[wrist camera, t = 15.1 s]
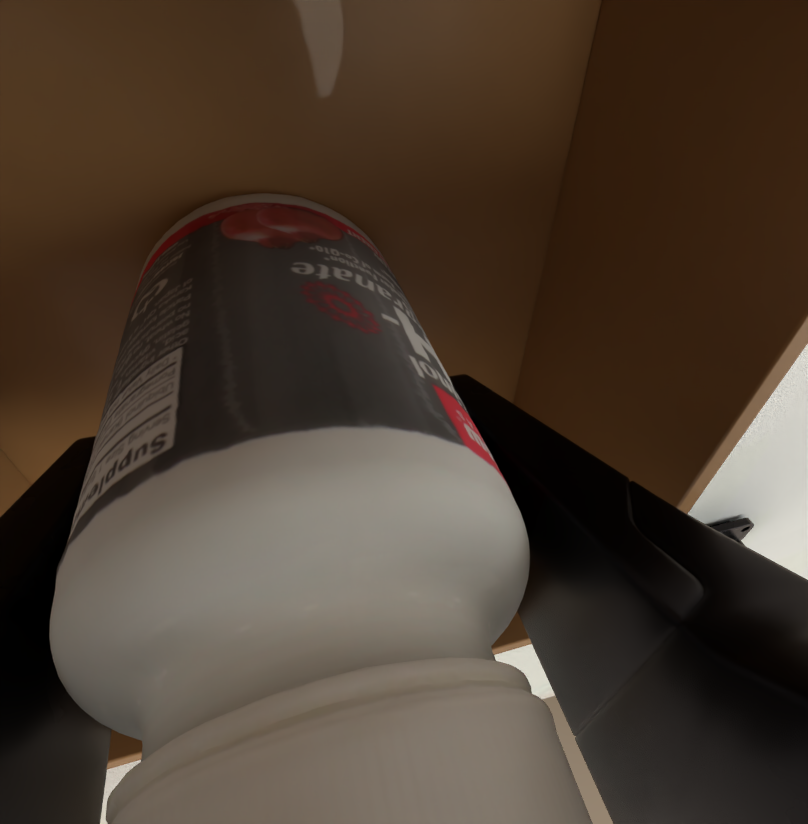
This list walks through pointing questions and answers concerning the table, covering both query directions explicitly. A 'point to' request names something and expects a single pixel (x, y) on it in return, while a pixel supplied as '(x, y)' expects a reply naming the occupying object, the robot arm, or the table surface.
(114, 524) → the pill bottle
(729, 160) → the carton
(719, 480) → the table surface
